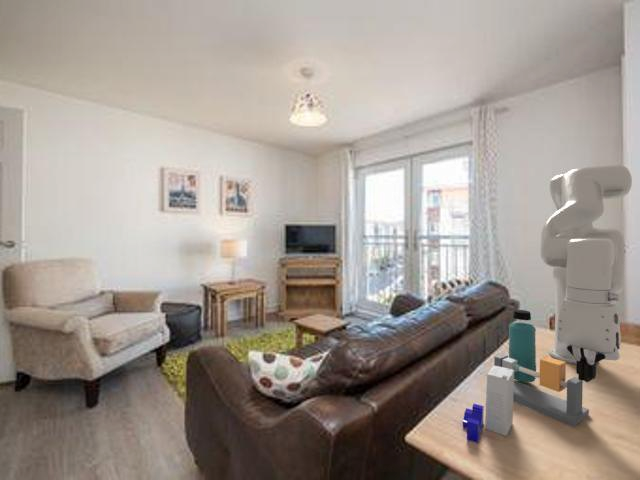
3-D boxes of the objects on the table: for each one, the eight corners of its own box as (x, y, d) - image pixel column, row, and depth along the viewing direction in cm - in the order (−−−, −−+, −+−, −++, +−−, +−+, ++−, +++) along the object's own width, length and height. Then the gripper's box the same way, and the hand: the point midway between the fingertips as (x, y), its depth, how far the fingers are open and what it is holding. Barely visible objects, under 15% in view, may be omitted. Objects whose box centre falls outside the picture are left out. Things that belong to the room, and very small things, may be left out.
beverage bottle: (540, 389, 86) (541, 314, 85) (512, 387, 87) (513, 313, 87) (529, 378, 92) (530, 308, 92) (504, 376, 94) (505, 307, 93)
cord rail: (504, 382, 90) (504, 351, 90) (588, 415, 74) (589, 378, 74) (487, 390, 86) (487, 357, 85) (573, 427, 70) (574, 387, 69)
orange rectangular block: (546, 381, 79) (546, 356, 79) (565, 388, 75) (565, 362, 75) (539, 385, 77) (539, 359, 77) (558, 392, 74) (559, 365, 74)
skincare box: (491, 416, 74) (491, 363, 73) (514, 424, 71) (514, 369, 70) (484, 429, 69) (484, 373, 69) (508, 438, 66) (509, 379, 66)
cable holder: (466, 419, 73) (466, 401, 73) (483, 424, 71) (483, 406, 71) (458, 438, 67) (459, 418, 67) (477, 444, 65) (477, 424, 65)
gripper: (640, 299, 66) (638, 389, 66) (555, 288, 79) (554, 363, 79) (627, 304, 62) (625, 399, 62) (540, 292, 75) (539, 371, 75)
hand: (585, 379), depth 71 cm, fingers closed
